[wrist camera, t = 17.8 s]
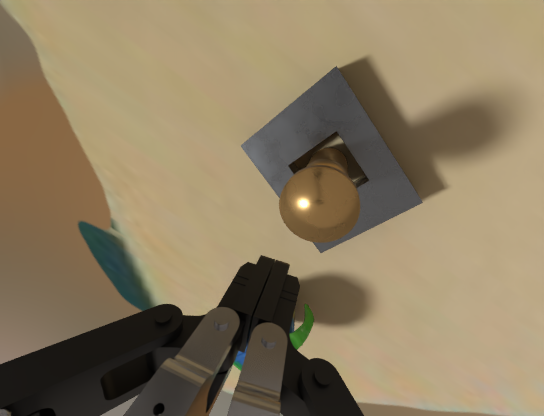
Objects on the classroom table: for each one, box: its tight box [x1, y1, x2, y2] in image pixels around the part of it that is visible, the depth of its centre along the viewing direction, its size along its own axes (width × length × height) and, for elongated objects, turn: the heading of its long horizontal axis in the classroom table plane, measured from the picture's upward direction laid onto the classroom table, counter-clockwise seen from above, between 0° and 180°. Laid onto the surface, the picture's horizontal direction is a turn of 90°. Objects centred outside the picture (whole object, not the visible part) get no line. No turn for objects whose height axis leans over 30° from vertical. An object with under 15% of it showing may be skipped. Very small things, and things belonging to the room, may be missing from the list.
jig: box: [241, 66, 423, 253], centre depth 33 cm, size 18×14×3 cm
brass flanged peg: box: [279, 148, 360, 243], centre depth 28 cm, size 7×7×14 cm
